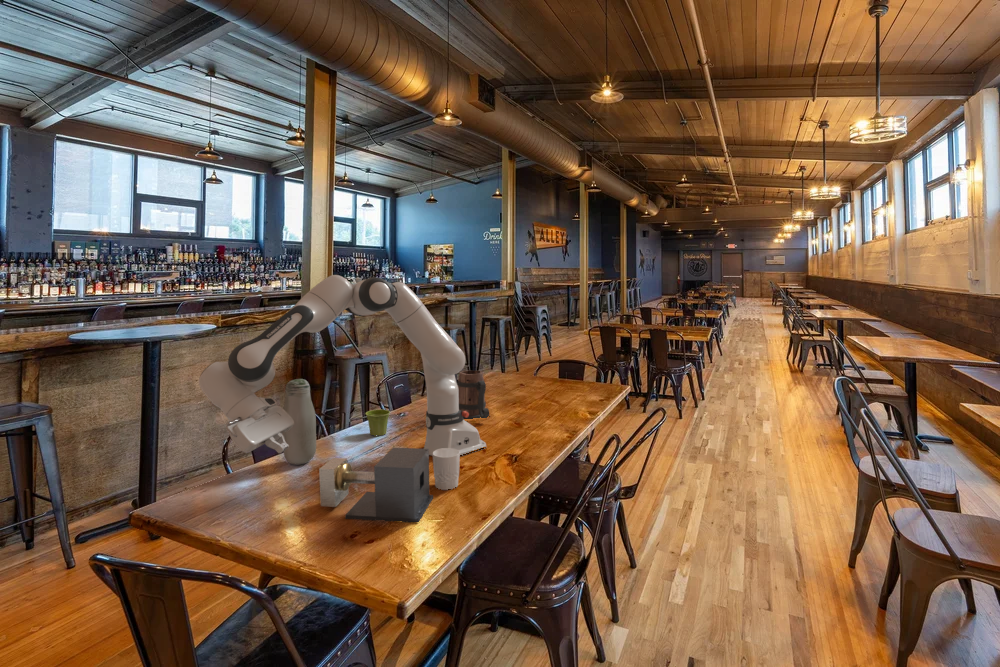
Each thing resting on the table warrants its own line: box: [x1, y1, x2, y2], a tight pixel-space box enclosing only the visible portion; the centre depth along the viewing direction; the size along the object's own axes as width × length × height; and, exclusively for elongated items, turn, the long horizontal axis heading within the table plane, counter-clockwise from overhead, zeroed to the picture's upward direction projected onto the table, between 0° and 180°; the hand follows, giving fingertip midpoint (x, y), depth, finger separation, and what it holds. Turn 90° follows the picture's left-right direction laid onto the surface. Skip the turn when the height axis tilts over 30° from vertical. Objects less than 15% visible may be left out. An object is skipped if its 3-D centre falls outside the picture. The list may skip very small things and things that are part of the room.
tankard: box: [456, 370, 490, 419], centre depth 215 cm, size 24×17×20 cm
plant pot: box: [365, 409, 391, 437], centre depth 193 cm, size 9×9×9 cm
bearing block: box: [344, 447, 434, 523], centre depth 129 cm, size 19×14×14 cm
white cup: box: [432, 448, 461, 491], centre depth 144 cm, size 8×8×10 cm
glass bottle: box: [282, 378, 317, 466], centre depth 161 cm, size 10×10×28 cm
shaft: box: [318, 457, 375, 508], centre depth 130 cm, size 22×8×10 cm, turn 83°
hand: (284, 450), depth 132 cm, fingers closed
